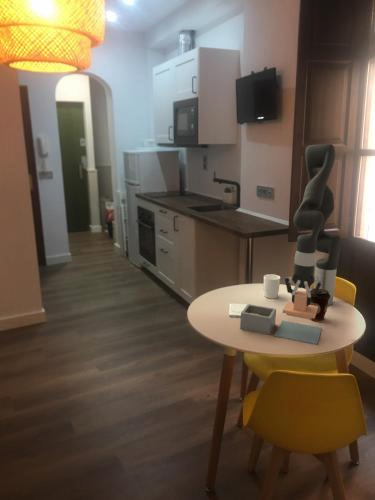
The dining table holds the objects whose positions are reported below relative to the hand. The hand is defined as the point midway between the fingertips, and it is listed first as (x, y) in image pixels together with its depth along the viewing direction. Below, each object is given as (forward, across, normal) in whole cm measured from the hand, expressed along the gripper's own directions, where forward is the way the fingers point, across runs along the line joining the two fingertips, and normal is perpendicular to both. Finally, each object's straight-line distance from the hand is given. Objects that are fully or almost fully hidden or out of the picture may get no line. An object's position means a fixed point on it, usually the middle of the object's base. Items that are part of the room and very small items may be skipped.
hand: (300, 304), depth 161 cm
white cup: (+12, +19, -34) cm, 41 cm away
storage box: (+12, +16, +2) cm, 20 cm away
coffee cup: (+12, -5, -16) cm, 21 cm away
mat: (+12, 0, 0) cm, 12 cm away
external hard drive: (+13, +28, -9) cm, 32 cm away
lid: (+4, 0, 0) cm, 4 cm away
